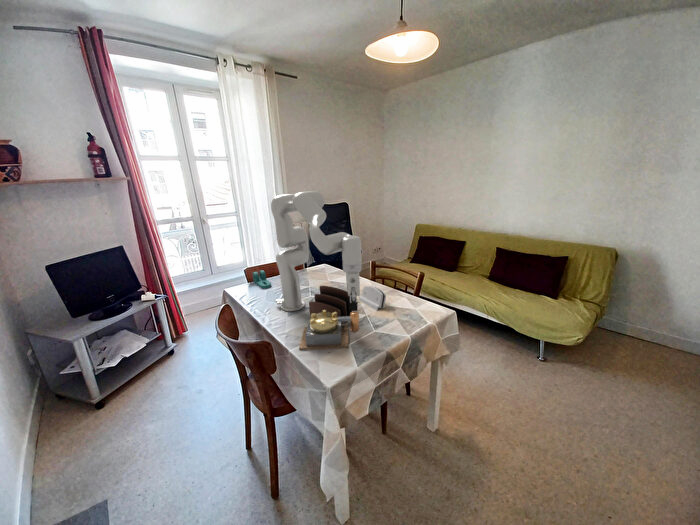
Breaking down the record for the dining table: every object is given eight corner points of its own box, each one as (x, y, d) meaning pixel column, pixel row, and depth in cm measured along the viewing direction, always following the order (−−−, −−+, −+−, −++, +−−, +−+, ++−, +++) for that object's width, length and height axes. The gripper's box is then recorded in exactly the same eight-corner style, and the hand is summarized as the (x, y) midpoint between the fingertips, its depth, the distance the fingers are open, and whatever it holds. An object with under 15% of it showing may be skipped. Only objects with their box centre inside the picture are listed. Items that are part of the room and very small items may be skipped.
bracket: (253, 282, 189) (251, 271, 187) (263, 279, 193) (261, 269, 191) (262, 289, 175) (260, 278, 173) (272, 287, 179) (271, 275, 177)
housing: (299, 349, 112) (297, 336, 110) (305, 329, 127) (303, 317, 126) (348, 347, 112) (347, 334, 110) (348, 327, 127) (347, 315, 125)
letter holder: (322, 307, 148) (320, 283, 144) (352, 316, 137) (351, 290, 132) (309, 315, 140) (306, 289, 136) (340, 326, 129) (339, 298, 125)
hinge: (357, 299, 155) (362, 282, 154) (364, 300, 157) (368, 283, 156) (377, 310, 141) (382, 292, 140) (383, 310, 144) (388, 292, 143)
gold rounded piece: (309, 340, 113) (307, 323, 111) (312, 325, 125) (310, 309, 122) (360, 337, 113) (359, 320, 111) (358, 322, 125) (357, 306, 123)
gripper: (363, 274, 103) (363, 315, 108) (359, 259, 119) (360, 295, 124) (343, 274, 102) (344, 315, 108) (342, 260, 119) (343, 296, 124)
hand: (352, 305), depth 116 cm, fingers open, 9 cm apart
